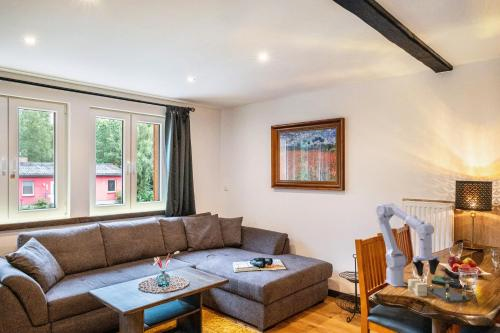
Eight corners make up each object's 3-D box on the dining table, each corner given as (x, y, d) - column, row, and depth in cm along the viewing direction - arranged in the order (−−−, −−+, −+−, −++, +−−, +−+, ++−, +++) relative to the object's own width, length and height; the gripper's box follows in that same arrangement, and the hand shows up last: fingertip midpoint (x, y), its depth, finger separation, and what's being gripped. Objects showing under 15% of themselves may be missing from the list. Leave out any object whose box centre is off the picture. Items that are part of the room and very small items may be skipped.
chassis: (426, 290, 177) (426, 283, 177) (447, 289, 179) (447, 282, 179) (447, 302, 161) (447, 295, 161) (470, 301, 163) (470, 293, 163)
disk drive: (466, 286, 185) (435, 279, 195) (466, 281, 185) (435, 274, 195) (462, 291, 178) (431, 284, 187) (462, 285, 178) (431, 279, 187)
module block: (408, 290, 177) (408, 279, 177) (417, 290, 177) (416, 278, 178) (417, 296, 169) (417, 284, 169) (426, 296, 170) (426, 284, 170)
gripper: (420, 250, 165) (420, 278, 164) (443, 248, 169) (444, 275, 169) (409, 247, 172) (410, 274, 171) (432, 245, 176) (433, 272, 175)
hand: (426, 275), depth 170 cm, fingers open, 7 cm apart
